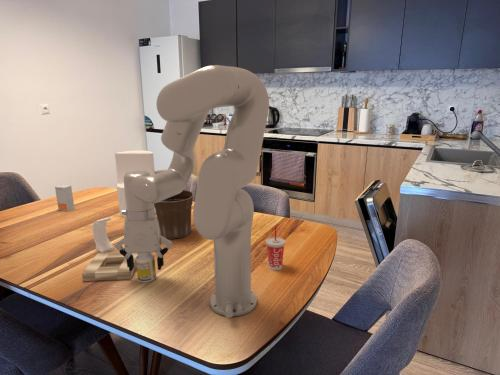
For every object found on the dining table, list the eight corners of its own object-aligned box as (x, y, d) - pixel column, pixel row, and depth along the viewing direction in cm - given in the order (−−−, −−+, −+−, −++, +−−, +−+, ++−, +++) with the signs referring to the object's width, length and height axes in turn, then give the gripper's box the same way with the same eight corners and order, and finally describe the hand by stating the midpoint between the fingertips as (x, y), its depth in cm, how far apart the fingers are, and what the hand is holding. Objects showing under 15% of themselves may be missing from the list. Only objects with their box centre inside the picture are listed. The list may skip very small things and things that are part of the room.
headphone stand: (102, 253, 124) (97, 221, 121) (94, 248, 128) (90, 217, 125) (114, 248, 127) (110, 217, 124) (106, 244, 131) (103, 214, 128)
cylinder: (128, 205, 176) (122, 150, 169) (162, 205, 175) (157, 150, 168) (113, 217, 159) (106, 156, 152) (151, 217, 159) (145, 156, 151)
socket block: (130, 279, 107) (129, 271, 106) (82, 281, 106) (81, 273, 105) (140, 258, 120) (140, 251, 119) (98, 259, 119) (97, 253, 118)
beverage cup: (264, 270, 111) (265, 229, 107) (266, 261, 117) (266, 222, 113) (284, 272, 110) (285, 230, 106) (285, 262, 116) (285, 223, 112)
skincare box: (58, 210, 170) (54, 186, 166) (65, 207, 174) (61, 184, 170) (68, 211, 168) (64, 187, 165) (75, 208, 172) (71, 185, 169)
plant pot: (183, 244, 131) (180, 203, 127) (146, 238, 136) (142, 199, 132) (202, 228, 146) (200, 191, 142) (168, 224, 151) (166, 188, 147)
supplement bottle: (149, 272, 111) (146, 243, 108) (159, 277, 107) (157, 248, 105) (134, 279, 107) (131, 249, 104) (144, 285, 103) (141, 254, 101)
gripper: (105, 219, 97) (112, 276, 102) (169, 217, 98) (173, 273, 103) (114, 210, 104) (120, 263, 109) (173, 208, 106) (176, 261, 110)
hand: (146, 268), depth 106 cm, fingers open, 7 cm apart
